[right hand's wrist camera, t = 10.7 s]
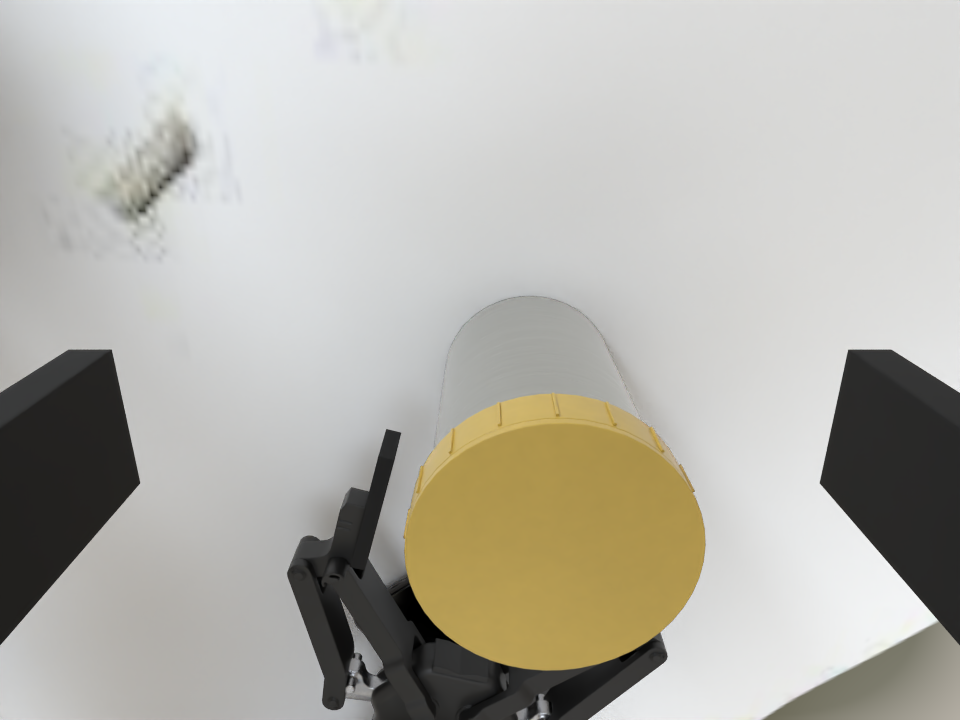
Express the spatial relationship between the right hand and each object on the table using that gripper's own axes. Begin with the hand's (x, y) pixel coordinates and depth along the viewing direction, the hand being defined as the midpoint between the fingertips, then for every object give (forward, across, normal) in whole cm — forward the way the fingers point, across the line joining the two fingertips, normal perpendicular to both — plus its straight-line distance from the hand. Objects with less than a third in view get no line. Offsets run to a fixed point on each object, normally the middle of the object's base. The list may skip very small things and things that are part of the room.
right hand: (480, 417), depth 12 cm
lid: (+8, -2, +9) cm, 13 cm away
